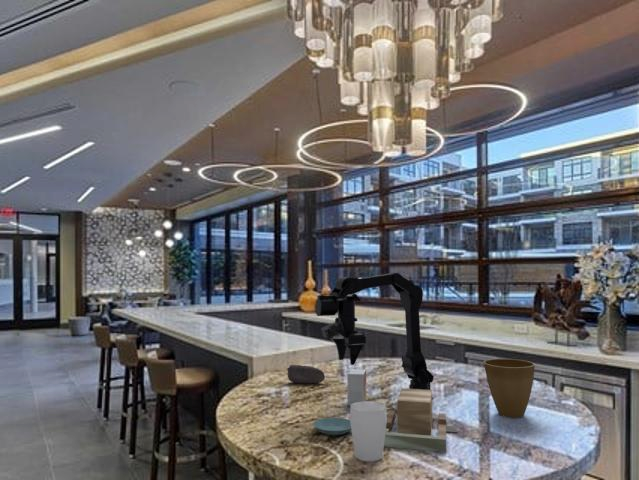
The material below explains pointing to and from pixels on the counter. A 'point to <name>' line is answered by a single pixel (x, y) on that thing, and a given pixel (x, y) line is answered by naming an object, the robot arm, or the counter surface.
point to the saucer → (333, 426)
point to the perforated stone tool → (305, 374)
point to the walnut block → (414, 411)
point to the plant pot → (510, 385)
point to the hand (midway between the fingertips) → (346, 362)
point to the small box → (356, 386)
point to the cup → (368, 429)
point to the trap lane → (418, 436)
